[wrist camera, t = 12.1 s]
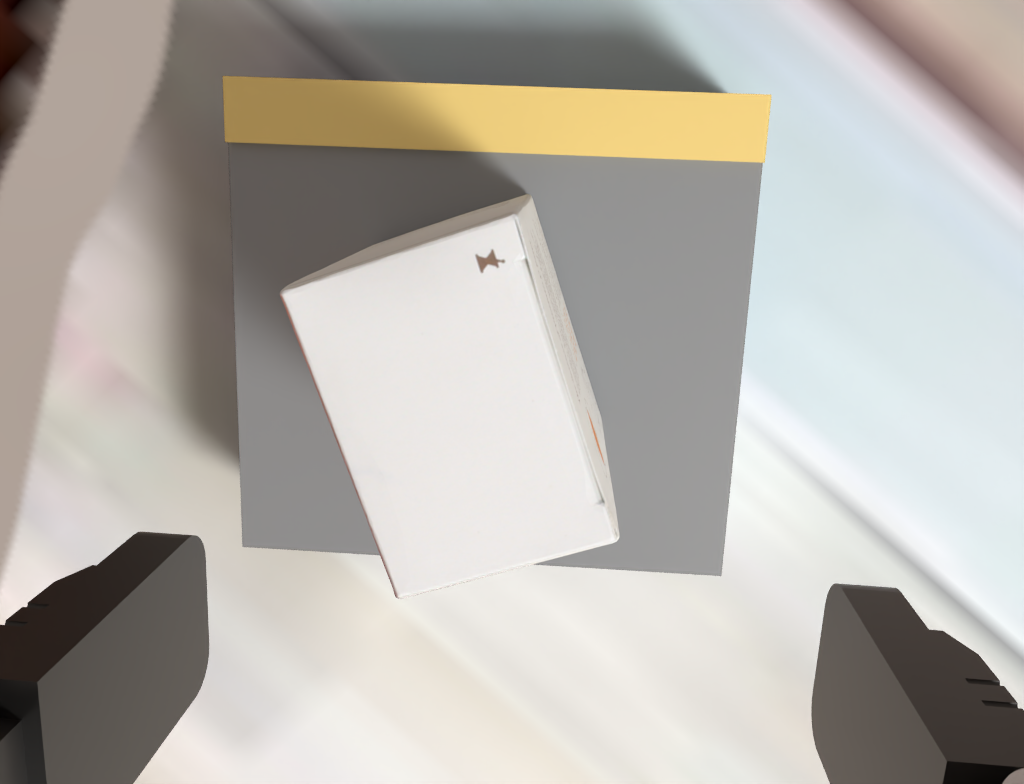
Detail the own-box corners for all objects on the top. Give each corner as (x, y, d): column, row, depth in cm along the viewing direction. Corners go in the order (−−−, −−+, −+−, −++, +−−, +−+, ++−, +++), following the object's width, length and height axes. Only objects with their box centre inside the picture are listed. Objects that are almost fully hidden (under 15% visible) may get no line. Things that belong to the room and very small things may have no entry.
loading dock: (739, 106, 33) (771, 94, 28) (701, 522, 37) (722, 579, 32) (275, 90, 34) (222, 75, 29) (284, 498, 38) (239, 550, 33)
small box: (371, 243, 30) (268, 281, 20) (534, 190, 29) (515, 201, 19) (449, 467, 32) (391, 609, 21) (605, 422, 31) (623, 546, 21)
